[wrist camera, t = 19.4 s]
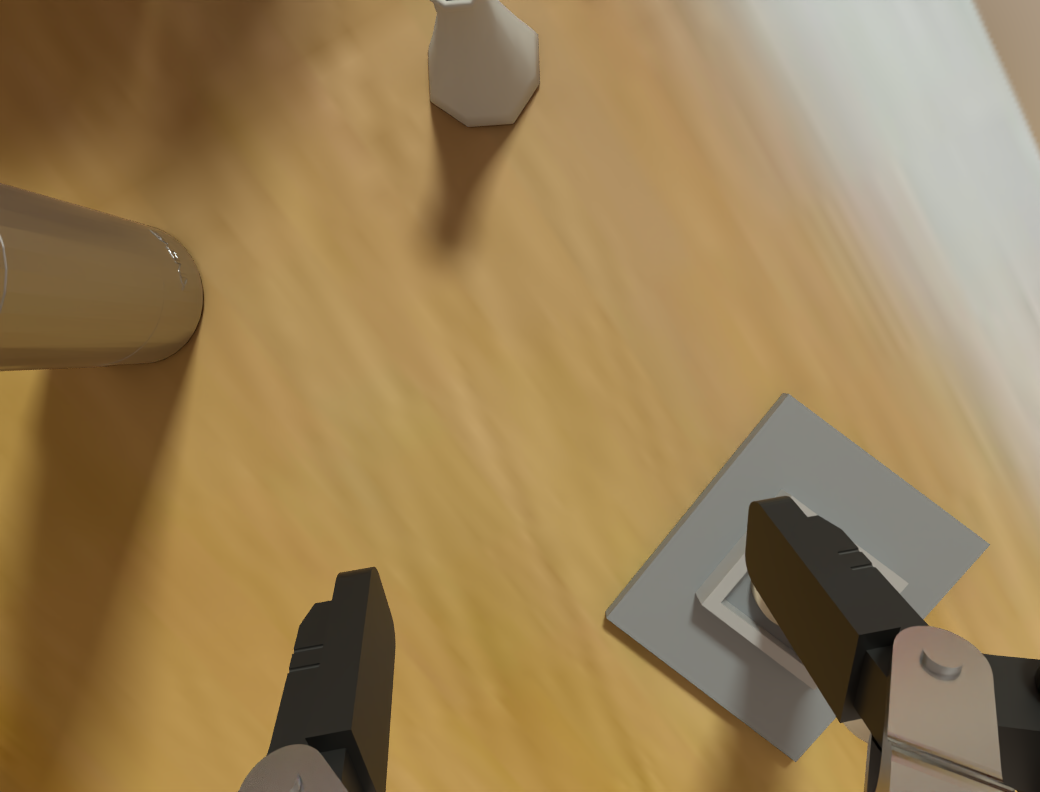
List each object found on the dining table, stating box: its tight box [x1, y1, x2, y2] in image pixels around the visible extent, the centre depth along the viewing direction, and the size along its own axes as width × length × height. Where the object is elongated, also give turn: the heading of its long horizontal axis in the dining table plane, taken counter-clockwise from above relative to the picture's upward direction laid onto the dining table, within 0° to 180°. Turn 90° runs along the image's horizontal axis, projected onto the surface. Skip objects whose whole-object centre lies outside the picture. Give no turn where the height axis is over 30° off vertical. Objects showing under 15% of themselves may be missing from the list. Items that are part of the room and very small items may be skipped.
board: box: [606, 393, 990, 762], centre depth 37 cm, size 18×15×3 cm
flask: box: [428, 0, 540, 127], centre depth 33 cm, size 7×7×10 cm
